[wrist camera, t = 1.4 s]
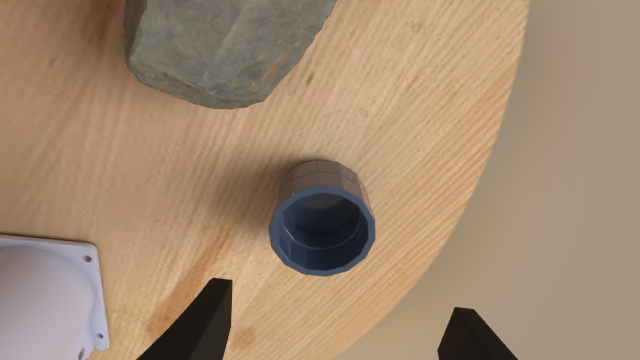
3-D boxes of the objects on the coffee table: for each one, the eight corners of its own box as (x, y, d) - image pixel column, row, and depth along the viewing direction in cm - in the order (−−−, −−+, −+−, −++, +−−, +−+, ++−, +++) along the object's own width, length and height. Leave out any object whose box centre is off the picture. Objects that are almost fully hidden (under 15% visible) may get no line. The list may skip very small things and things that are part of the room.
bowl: (357, 240, 24) (365, 280, 21) (271, 231, 24) (264, 270, 20) (373, 163, 22) (386, 193, 18) (279, 151, 21) (272, 180, 18)
